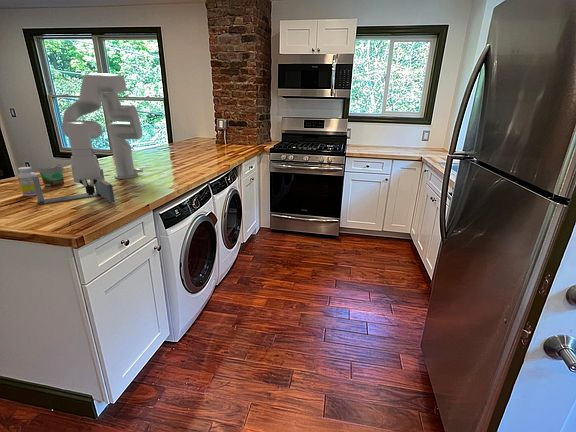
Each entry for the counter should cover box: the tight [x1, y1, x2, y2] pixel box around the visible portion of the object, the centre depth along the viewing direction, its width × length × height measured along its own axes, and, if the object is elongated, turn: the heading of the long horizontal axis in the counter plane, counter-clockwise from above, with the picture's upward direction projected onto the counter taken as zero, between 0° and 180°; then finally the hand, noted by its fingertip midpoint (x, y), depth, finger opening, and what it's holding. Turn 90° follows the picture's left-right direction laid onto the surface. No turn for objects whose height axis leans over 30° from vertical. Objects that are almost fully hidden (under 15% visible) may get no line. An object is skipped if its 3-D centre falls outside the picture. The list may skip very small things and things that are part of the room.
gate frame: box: [32, 168, 106, 206], centre depth 141 cm, size 28×6×12 cm, turn 134°
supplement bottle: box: [17, 166, 37, 197], centre depth 143 cm, size 7×7×13 cm
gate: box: [94, 180, 116, 204], centre depth 141 cm, size 22×2×9 cm, turn 46°
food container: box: [37, 163, 65, 188], centre depth 159 cm, size 12×6×10 cm, turn 168°
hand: (91, 194), depth 134 cm, fingers closed
